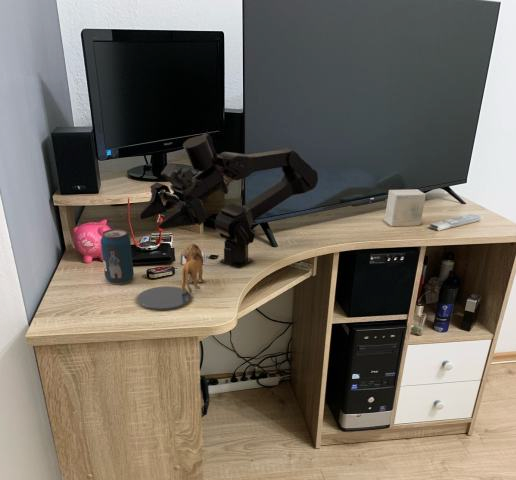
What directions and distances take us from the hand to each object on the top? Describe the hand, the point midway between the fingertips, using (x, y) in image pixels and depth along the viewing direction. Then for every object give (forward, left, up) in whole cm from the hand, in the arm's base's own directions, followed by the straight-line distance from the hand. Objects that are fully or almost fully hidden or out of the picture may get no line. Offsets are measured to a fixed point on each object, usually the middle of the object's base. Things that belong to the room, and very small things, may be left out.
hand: (149, 222), depth 125 cm
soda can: (+4, -8, -16) cm, 18 cm away
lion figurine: (-4, +8, -15) cm, 18 cm away
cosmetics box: (-87, +26, -16) cm, 92 cm away
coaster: (+5, +8, -15) cm, 18 cm away
